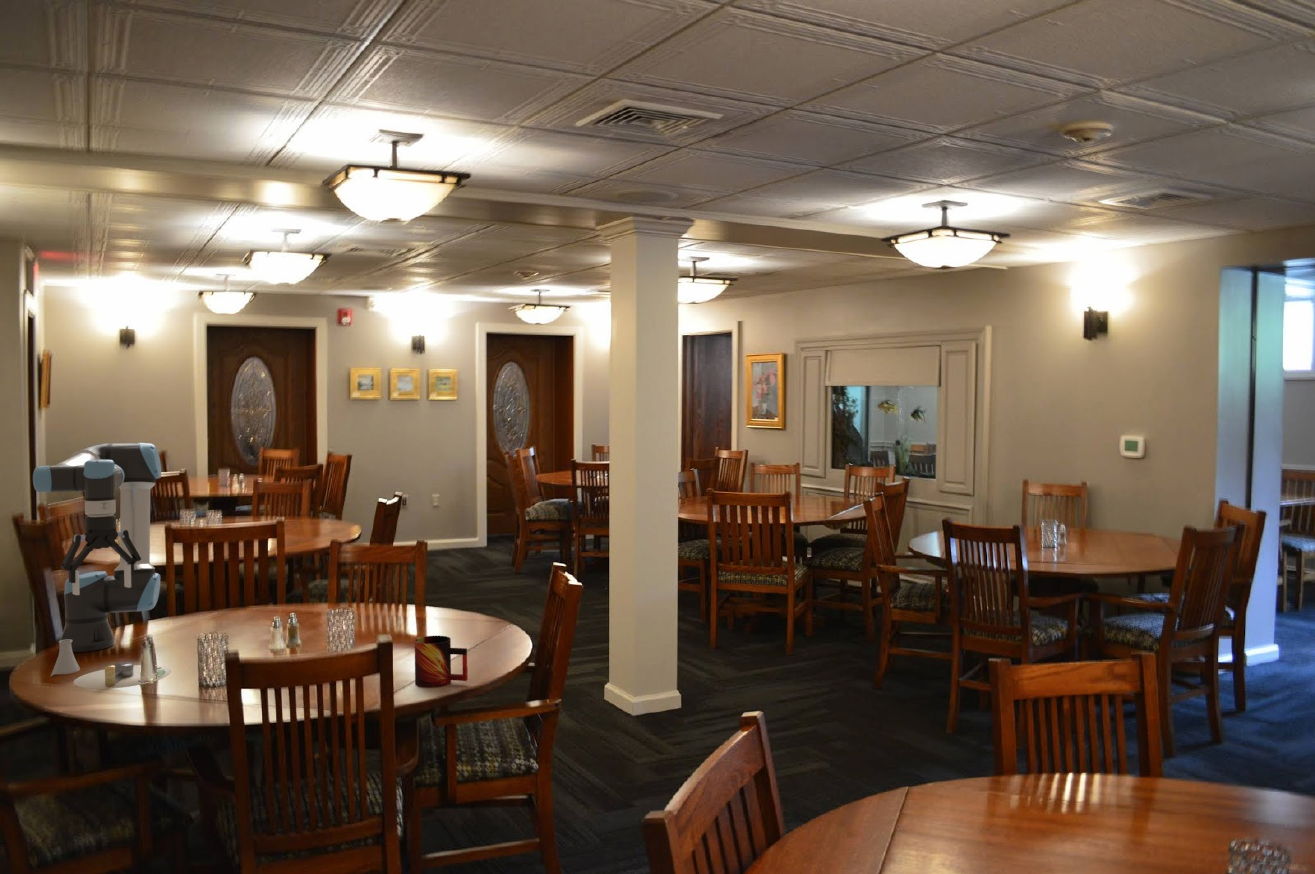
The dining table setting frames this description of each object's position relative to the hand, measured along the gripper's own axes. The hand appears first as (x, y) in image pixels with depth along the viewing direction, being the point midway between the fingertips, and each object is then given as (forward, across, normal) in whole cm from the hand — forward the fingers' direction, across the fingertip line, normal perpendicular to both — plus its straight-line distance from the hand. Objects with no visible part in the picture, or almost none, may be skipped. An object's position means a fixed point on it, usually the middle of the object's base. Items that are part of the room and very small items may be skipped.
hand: (102, 590), depth 280 cm
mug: (+24, +57, -78) cm, 99 cm away
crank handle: (+23, -1, -11) cm, 25 cm away
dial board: (+24, +2, -8) cm, 26 cm away
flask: (+25, -6, +11) cm, 28 cm away
